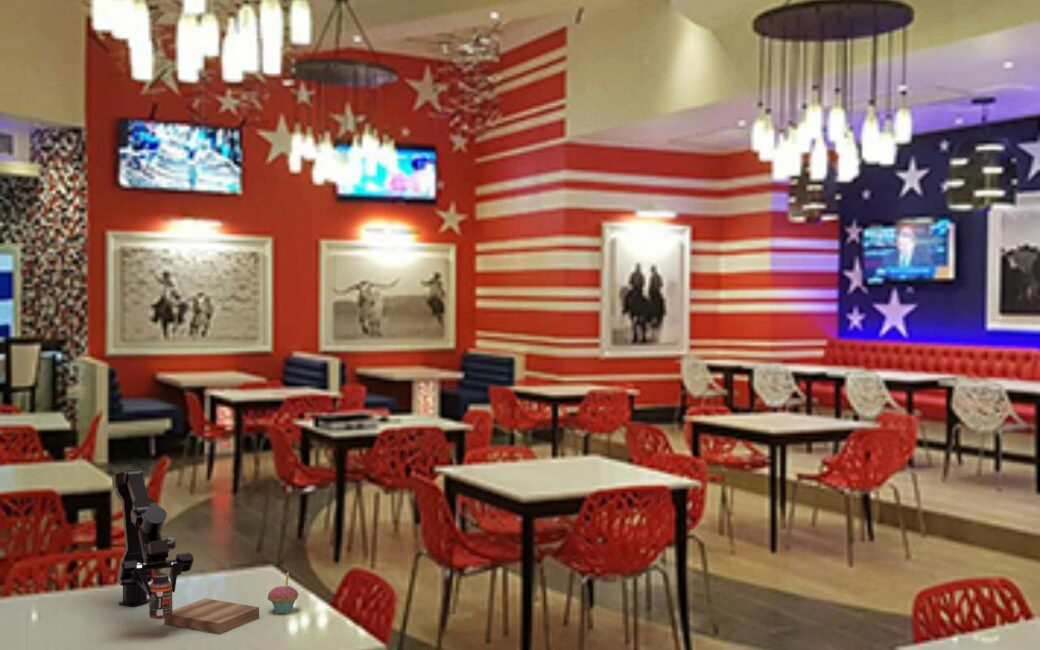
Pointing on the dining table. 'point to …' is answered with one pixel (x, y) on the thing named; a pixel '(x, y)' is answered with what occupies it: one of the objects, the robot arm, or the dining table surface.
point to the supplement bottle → (160, 597)
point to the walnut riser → (212, 616)
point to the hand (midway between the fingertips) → (162, 593)
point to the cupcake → (283, 597)
